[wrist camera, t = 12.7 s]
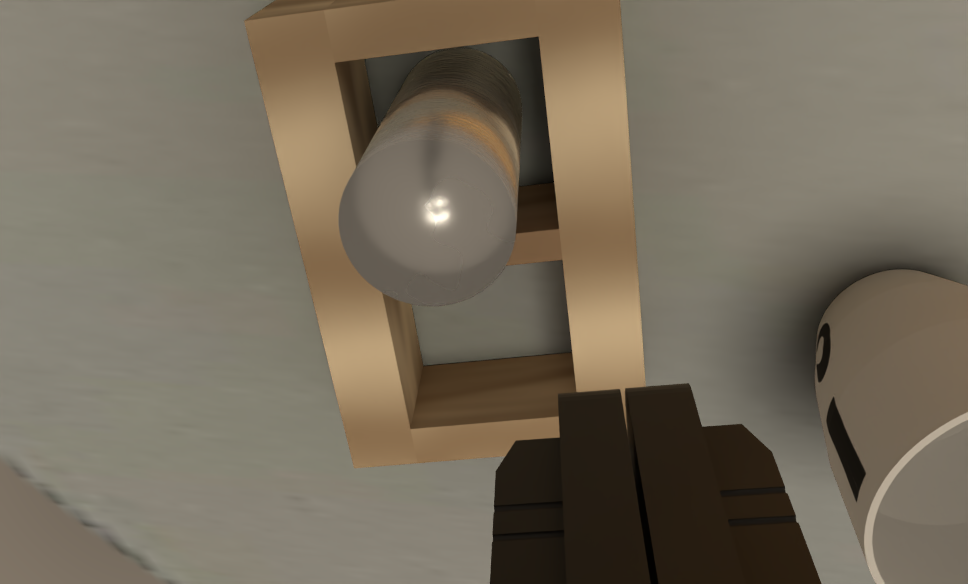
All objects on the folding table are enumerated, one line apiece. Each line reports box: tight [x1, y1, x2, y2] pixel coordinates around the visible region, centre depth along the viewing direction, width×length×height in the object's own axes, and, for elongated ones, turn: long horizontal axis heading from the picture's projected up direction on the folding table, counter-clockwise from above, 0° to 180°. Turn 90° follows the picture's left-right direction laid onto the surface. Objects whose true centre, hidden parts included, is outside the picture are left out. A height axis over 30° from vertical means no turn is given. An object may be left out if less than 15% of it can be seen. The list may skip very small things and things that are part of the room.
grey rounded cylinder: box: [338, 48, 522, 306], centre depth 25 cm, size 4×4×10 cm
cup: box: [815, 269, 968, 584], centre depth 28 cm, size 8×8×10 cm
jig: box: [244, 0, 646, 468], centre depth 29 cm, size 15×10×4 cm, turn 8°
